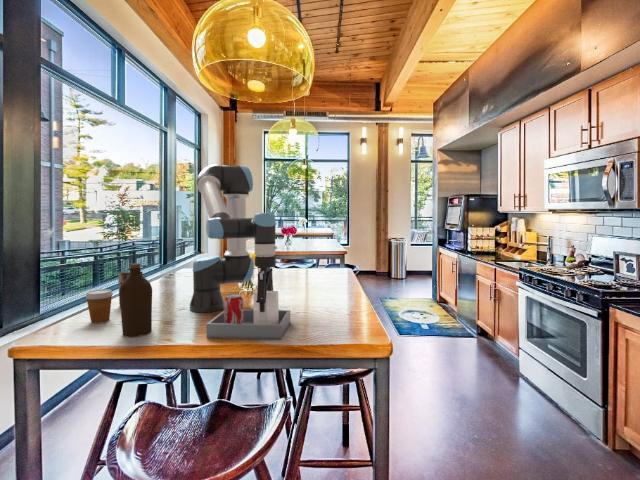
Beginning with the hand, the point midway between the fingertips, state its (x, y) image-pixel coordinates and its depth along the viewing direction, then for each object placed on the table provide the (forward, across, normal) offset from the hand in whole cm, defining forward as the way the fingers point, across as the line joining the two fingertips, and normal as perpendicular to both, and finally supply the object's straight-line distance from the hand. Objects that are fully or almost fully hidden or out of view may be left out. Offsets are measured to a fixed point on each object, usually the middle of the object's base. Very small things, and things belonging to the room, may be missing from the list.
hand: (265, 316), depth 136 cm
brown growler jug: (+5, -6, +46) cm, 46 cm away
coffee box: (+5, +32, +70) cm, 78 cm away
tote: (+5, 0, +6) cm, 7 cm away
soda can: (+4, 0, +12) cm, 13 cm away
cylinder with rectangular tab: (+3, 0, 0) cm, 3 cm away
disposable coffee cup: (+5, +7, +68) cm, 69 cm away
